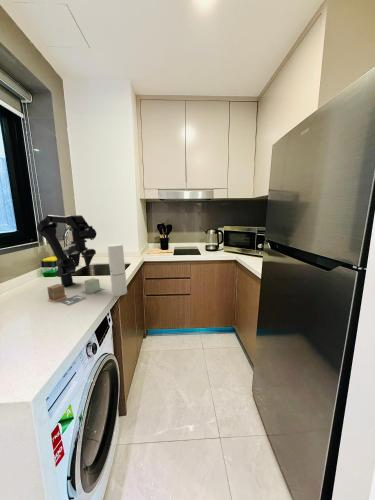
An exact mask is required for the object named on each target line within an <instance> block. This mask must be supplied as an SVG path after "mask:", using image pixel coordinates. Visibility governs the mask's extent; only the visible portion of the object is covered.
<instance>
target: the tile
mask: <svg viewBox="0 0 375 500" xmlns="http://www.w3.org/2000/svg"><path fill="white" fill-rule="evenodd" d="M86 299H88V297H85V296H81V295H79V294H76V295H73V296H71V297H66V298H64V299H62V300H58V303H61V304H64V305H65V306H66V305H67V306H72V305H74V304H77V303H80V302H82V301H84V300H86Z"/></svg>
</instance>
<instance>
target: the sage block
mask: <svg viewBox="0 0 375 500" xmlns="http://www.w3.org/2000/svg"><path fill="white" fill-rule="evenodd" d="M83 282H84V287H85V290H86V292H89V293H94V292H96V291H99V290H100V288H101V285H100V279H99V278H95V277H92V278H91V277H90V278H89V279H85V280H84V281H83Z"/></svg>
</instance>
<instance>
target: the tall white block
mask: <svg viewBox="0 0 375 500" xmlns="http://www.w3.org/2000/svg"><path fill="white" fill-rule="evenodd" d="M124 253H125V252H124V244H123V243H116V244H113V243H112V244H108V245H107V257H108V265H109V274H110V284H111V293H112V296H114V297H115V296H116V297H121V296H124V295H126V294H127V293H128V288H127V287H128V286H127V285H128V284H127V277H126V265H125V255H124Z"/></svg>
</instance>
